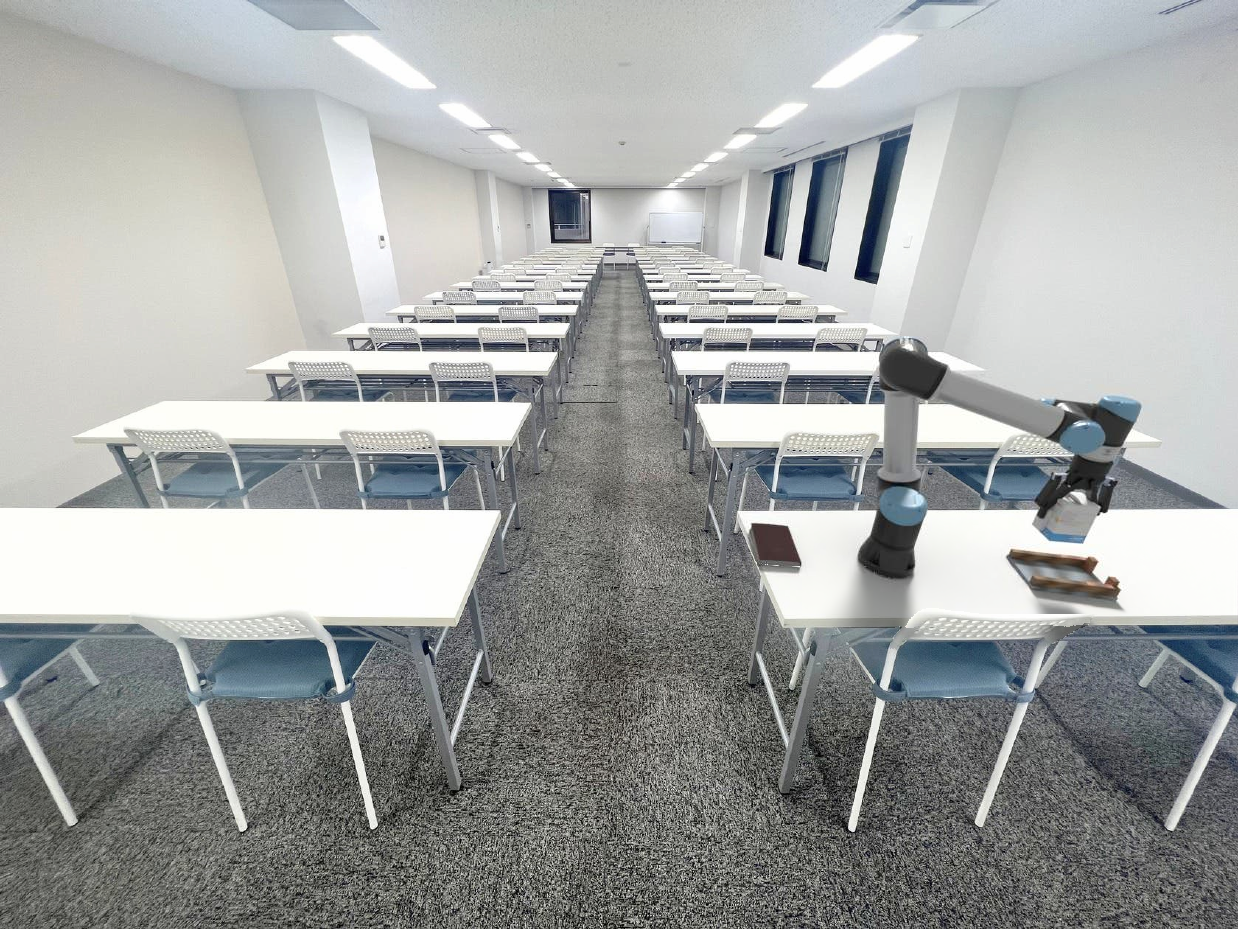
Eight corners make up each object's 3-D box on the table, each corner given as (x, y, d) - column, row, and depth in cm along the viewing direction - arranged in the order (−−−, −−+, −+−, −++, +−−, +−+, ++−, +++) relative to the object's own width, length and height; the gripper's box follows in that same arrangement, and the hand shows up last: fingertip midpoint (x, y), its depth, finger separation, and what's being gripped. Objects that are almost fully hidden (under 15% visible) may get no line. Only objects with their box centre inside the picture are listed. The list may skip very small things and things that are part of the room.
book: (787, 532, 159) (788, 524, 158) (800, 569, 142) (802, 561, 141) (749, 530, 161) (750, 522, 159) (757, 567, 143) (759, 558, 142)
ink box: (1083, 544, 128) (1106, 502, 122) (1048, 541, 129) (1068, 499, 123) (1063, 527, 135) (1084, 486, 129) (1030, 523, 137) (1049, 483, 131)
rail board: (1031, 589, 133) (1038, 575, 131) (1006, 557, 146) (1012, 543, 144) (1116, 601, 129) (1125, 586, 127) (1082, 566, 142) (1089, 553, 140)
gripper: (1054, 458, 121) (1021, 532, 131) (1155, 467, 116) (1112, 542, 126) (1038, 446, 127) (1007, 517, 137) (1133, 454, 123) (1094, 527, 133)
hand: (1058, 529), depth 132 cm, fingers closed on ink box, 8 cm apart
